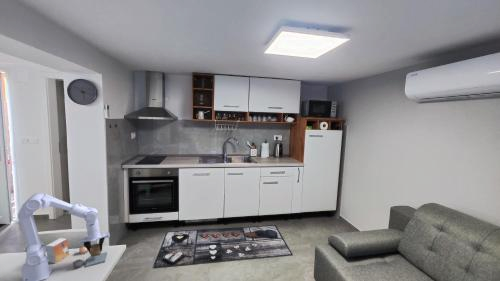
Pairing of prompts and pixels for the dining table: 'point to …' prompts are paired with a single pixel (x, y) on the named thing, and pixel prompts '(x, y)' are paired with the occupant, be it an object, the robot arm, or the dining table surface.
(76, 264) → the rubber puck
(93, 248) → the walnut block
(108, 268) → the dining table surface
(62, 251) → the small box
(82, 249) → the terracotta cylinder
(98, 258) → the slate board
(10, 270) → the dining table surface
